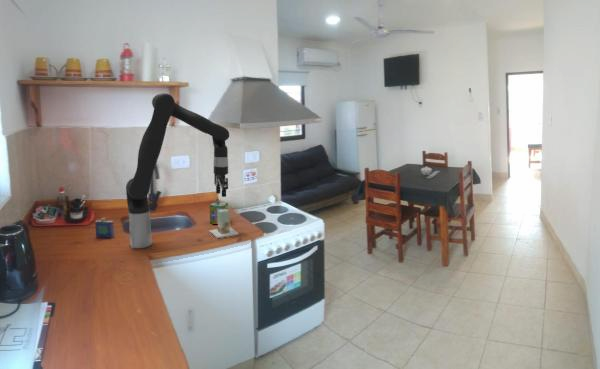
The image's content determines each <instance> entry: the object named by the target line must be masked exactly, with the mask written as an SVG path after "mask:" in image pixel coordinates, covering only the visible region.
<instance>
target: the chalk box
mask: <svg viewBox="0 0 600 369" xmlns="http://www.w3.org/2000/svg"><path fill="white" fill-rule="evenodd" d="M215 201H216V202H214V201H213V202H212V203H211V204H210V205H209V207H208V208H209V224H218V217H217V210H221V209H227V210H229V209H228V208H229V207H228V206H229V205H228V202H223V201H220V198H218V197H217V198H216V200H215Z"/></svg>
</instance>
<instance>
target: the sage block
mask: <svg viewBox="0 0 600 369" xmlns="http://www.w3.org/2000/svg"><path fill="white" fill-rule="evenodd" d="M230 214H231V212H230V210H229V209H228V210H227V209H221V210H217V217H218V221H219V222H220V223H225V222H230V223H231V218H230V217H231V215H230Z"/></svg>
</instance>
